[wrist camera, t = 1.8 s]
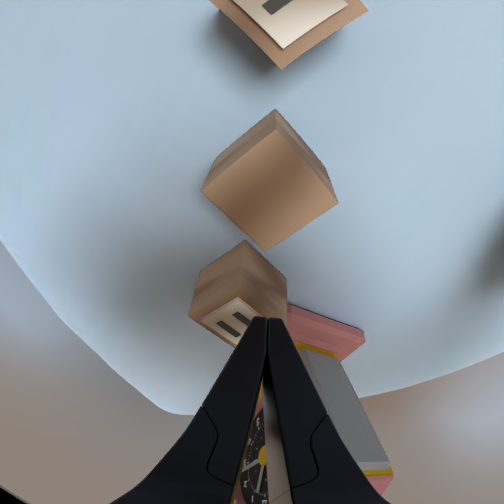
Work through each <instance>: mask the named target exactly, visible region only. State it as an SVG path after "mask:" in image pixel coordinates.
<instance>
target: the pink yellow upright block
mask: <svg viewBox="0 0 504 504" xmlns="http://www.w3.org/2000/svg"><path fill="white" fill-rule="evenodd" d="M286 327H287V329H288V331H289V333H290V336H291V338H292V340H293V342H294V344H295V346H296V348H297V350H298V352H299V354H300V356H301V358H302V360H303V363H304V365H305V367H306V369H307V371H308V373H309V375H310V377H311V379H312V381H313V383H314V385H315V387H316V389H317V391H318V394H319V396H320V398H321V400H322V402H323V404H324V406H325V408H326V410H327V413H326V414H329V416H330V418H331V420H332V422H333V424H334V426H335V428H336V430H337V432H338V434H339V436H340V438H341V439H342V441H343V443H344V444H345V446H346V447H347V449H348V451H349V452H350V454H351V455H352V457H353V458H354V460H355V461H356V463H357V464H358V466H359V467H360V469H361V470H362V472H363V473H364V474H365V476H366V477H367V479H368V480H369V482H370V483H371V485H372V486H373V487H374V489H375V490H376V491H377V492H378V493H379V494H380V495H382V493H383V492H384V491H385V489H386V488H387V487H388V485H389V484H390V482H391V481H392V480H393V471H392V469H391V467H390V463H389V459H388V457H387V455H386V454H385V451H384V449H383V447H382V445H381V443H380V441H379V439H378V437H377V435H376V433H375V431H374V429H373V427H372V425H371V423H370V421H369V419H368V417H367V415H366V413H365V411H364V409H363V407H362V405H361V403H360V401H359V399H358V397H357V395H356V393H355V391H354V389H353V387H352V385H351V383H350V381H349V379H348V377H347V375H346V373H345V371H344V369H343V367H342V365H341V363H340V362H341V361H342V360H343V359H344V358H346V357H347V356H348V355H349V354H351V353H352V352H353V351H354V350H356V349H357V348H358V347H359V346H360V345H362V344H363V343H364V342H365V338H364V333H363V331H362V330H359V329H356V328H354V327H351V326H348V325H345V324H342V323H340V322H337V321H334V320H331V319H328V318H326V317H323V316H320V315H318V314H315V313H312V312H309V311H307V310H304V309H301V308H299V307H296V306H293V305H290V304H287V326H286ZM234 504H270V503H269V497H268V480H267V463H266V446H265V429H264V413H263V396H262V383H261V388H260V393H259V398H258V403H257V407H256V412H255V416H254V421H253V425H252V429H251V434H250V438H249V443H248V447H247V451H246V455H245V460H244V464H243V468H242V472H241V476H240V480H239V484H238V488H237V492H236V496H235V500H234Z"/></svg>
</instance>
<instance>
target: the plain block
mask: <svg viewBox="0 0 504 504" xmlns="http://www.w3.org/2000/svg"><path fill="white" fill-rule="evenodd" d="M201 192H202V193H203V194H204V195H205V196H206V197H207V198H208V199H209V200H210V201H211V202H213V203H214V204H215V205H216V206H217V207H218V208H219V209H220V210H221V211H222V212H223V213H224V214H225V215H226V216H227V217H228V218H230V219H231V220H232V221H233V222H234V223H235V224H236V225H237V226H238V227H239V228H240V229H241V230H242V231H243V232H244V233H245V234H247V235H248V236H249V237H250V238H251V239H252V240H253V241H254V242H255V243H256V244H257V245H258V246H259V247H260V248H261V249H262V250H263V251H264V252H265V251H267V250H268V249H270V248H271V247H273V246H274V245H276V244H277V243H279V242H280V241H282V240H283V239H285V238H286V237H288V236H289V235H291V234H292V233H294V232H295V231H297V230H299V229H300V228H302V227H303V226H305V225H306V224H308V223H309V222H311V221H312V220H314V219H315V218H317V217H318V216H320V215H321V214H323V213H324V212H326V211H327V210H329V209H330V208H332V207H333V206H335V205H336V204H338V200H337V197H336V195H335V192H334V189H333V186H332V184H331V181H330V178H329V176H328V173H327V171H326V168H325V166H324V165H323V164H322V163H321V161H320V160H319V159H318V158H317V156H316V155H315V154H314V153H313V151H312V150H311V149H310V148H309V147H308V145H307V144H306V143H305V142H304V141H303V139H302V138H301V137H300V136H299V135H298V134H297V132H296V131H295V130H294V129H293V128H292V127H291V125H290V124H289V123H288V122H287V121H286V120H285V119H284V117H283V116H282V115H281V114H280V113H279V112H278V111H277V110H276V109H274V110H273V111H272V112H271V113H269V114H268V115H267V116H266V117H264V118H263V119H262V120H261V121H259V122H258V123H257V124H256V125H254V126H253V127H252V128H251V129H249V130H248V131H247V132H246V133H245V134H243V135H242V136H241V137H240V138H239V139H237V140H236V141H235V142H234V143H233V144H232V145H230V146H229V147H228V148H227V149H226V150H225V151H223V152H222V153H221V154H220V155H219V156H218V157H216V159H215V161H214V164H213V166H212V168H211V170H210V172H209V174H208V176H207V179H206V181H205V183H204V185H203V187H202V189H201Z"/></svg>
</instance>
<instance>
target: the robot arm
mask: <svg viewBox="0 0 504 504" xmlns="http://www.w3.org/2000/svg"><path fill="white" fill-rule="evenodd" d="M261 383H262V396H263V413H264V429H265V446H266V463H267V480H268V497H269V503H270V504H390V503H389V502H388V501H386V500H385V499H384V498H383V497H382V496H381V495H380V494H379V493H378V492H377V491H376V490H375V489H374V487H373V486H372V485H371V483H370V482H369V480H368V479H367V477H366V476H365V474H364V473H363V472H362V470H361V469H360V467H359V466H358V464H357V463H356V461H355V460H354V458H353V457H352V455H351V454H350V452H349V451H348V449H347V447H346V446H345V444H344V443H343V441H342V439H341V438H340V436H339V434H338V432H337V430H336V428H335V426H334V424H333V422H332V420H331V418H330V416H329V414H326V413H327V410H326V408H325V406H324V404H323V402H322V400H321V398H320V396H319V394H318V391H317V389H316V387H315V385H314V383H313V381H312V379H311V377H310V375H309V373H308V371H307V369H306V367H305V365H304V363H303V360H302V358H301V356H300V354H299V352H298V350H297V348H296V346H295V344H294V342H293V340H292V338H291V336H290V333H289V331H288V329H287V327H286V325H285V323H284V321H283V319H282V318H277V317H269V318H268V320H267V317H263V316H254V317H253V318H252V320H251V321H250V323H249V325H248V327H247V328H246V330H245V332H244V334H243V335H242V337H241V339H240V341H239V342H238V344H237V346H236V348H235V349H234V351H233V353H232V354H231V356H230V358H229V360H228V361H227V363H226V365H225V366H224V368H223V370H222V372H221V373H220V375H219V377H218V378H217V380H216V382H215V383H214V385H213V387H212V389H211V390H210V392H209V394H208V395H207V397H206V399H205V400H204V402H203V404H202V406H201V407H200V408H199V410H198V412H197V413H196V415H195V416H194V418H193V420H192V421H191V423H190V424H189V426H188V427H187V429H186V430H185V432H184V433H183V434H182V436H181V437H180V438H179V439H178V440H177V442H176V443H175V444H174V446H173V447H172V448H171V449H170V450H169V451H168V452H167V454H166V455H165V456H164V457H163V459H161V461H160V462H159V463H158V464H157V465H156V466H155V468H154V469H153V470H152V471H151V472H150V473H149V474H148V475H147V476H146V477H145V478H144V479H143V480H142V481H141V482H140V483H139V484H138V485H137V486H135V487H134V488H133V489H131V490H130V491H128V492H127V493H125V494H124V495H122V496H121V497H119V498H118V499H116V500H114V501H113V502H111V503H110V504H234V500H235V496H236V492H237V488H238V484H239V480H240V476H241V472H242V468H243V464H244V460H245V455H246V451H247V447H248V443H249V438H250V434H251V429H252V425H253V421H254V416H255V412H256V407H257V403H258V398H259V393H260V388H261ZM0 504H30V503H28V502H27V501H25V500H23V499H22V498H20V497H18V496H16V495H15V494H13V493H12V492H10V491H9V490H7V489H5V488H4V487H2V486H1V485H0Z"/></svg>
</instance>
